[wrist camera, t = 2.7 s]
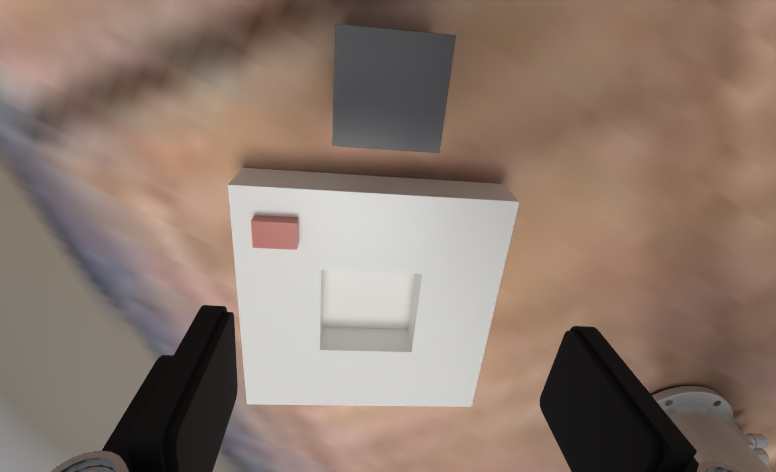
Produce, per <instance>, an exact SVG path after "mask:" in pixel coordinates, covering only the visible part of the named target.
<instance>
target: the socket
mask: <svg viewBox="0 0 776 472" xmlns="http://www.w3.org/2000/svg"><path fill="white" fill-rule="evenodd" d="M228 192H229V203H230V215H231V226H232V238H233V249H234V261H235V272H236V284H237V295H238V307H239V318H240V330H241V342H242V353H243V365H244V376H245V388H246V399H247V404H274V405H364V406H455V407H472V402H473V398H474V394H475V390H476V385H477V381H478V377H479V372H480V368H481V364H482V360H483V355H484V351H485V347H486V343H487V338H488V334H489V330H490V325H491V321H492V317H493V313H494V308H495V304H496V300H497V296H498V291H499V287H500V283H501V278H502V274H503V270H504V266H505V261H506V257H507V253H508V248H509V244H510V240H511V236H512V231H513V227H514V223H515V219H516V214H517V210H518V206H519V201H518V200H517V199H516V198H515V197H514V196H513V195H512V194H511V193H510V192H509V191H508V190H507V188H506V187H505V186H504V185H503V184H498V183H481V182H465V181H449V180H433V179H417V178H401V177H385V176H368V175H352V174H336V173H320V172H304V171H288V170H272V169H255V168H243V169H242V170H241V171H240V172H239V173H238V174H237V175H236V176H235V178H234V179H233V180H232V181H231V182H230V183H229V184H228Z"/></svg>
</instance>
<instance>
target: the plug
mask: <svg viewBox="0 0 776 472" xmlns="http://www.w3.org/2000/svg"><path fill="white" fill-rule="evenodd" d="M455 37H456V35H448V34H437V33H427V32H416V31H406V30H395V29H385V28H374V27H364V26H353V25H343V24H335V61H334V100H333V139H332V146H342V147H357V148H371V149H386V150H401V151H415V152H430V153H439V152H440V145H441V138H442V131H443V123H444V116H445V109H446V102H447V95H448V87H449V80H450V73H451V66H452V58H453V51H454V44H455Z"/></svg>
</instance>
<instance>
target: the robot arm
mask: <svg viewBox="0 0 776 472" xmlns="http://www.w3.org/2000/svg"><path fill="white" fill-rule="evenodd" d="M236 396H237V368H236V348H235V327H234V314H233V312H227V309H226V307H225V306H209V305H203V306H202V307H201V308H200V310H199V312H198V313H197V315H196V317H195V319H194V320H193V322H192V324H191V326H190V327H189V329H188V331H187V333H186V335H185V336H184V338H183V340H182V342H181V343H180V345H179V347H178V349H177V351H176V352H175V354H174V356H171V355H162V356H161V357H159V358H158V360H157V361H156V362H155V364H154V366H153V367H152V369H151V371H150V372H149V374H148V375H147V377H146V379H145V381H144V382H143V384H142V385H141V387H140V389H139V390H138V392H137V394H136V395H135V397H134V398H133V400H132V402H131V404H130V405H129V407H128V408H127V410H126V412H125V414H124V415H123V417H122V418H121V420H120V422H119V423H118V425H117V427H116V428H115V430H114V432H113V433H112V435H111V436H110V438H109V440H108V441H107V443H106V445H105V446H104V448H103V450H102V451H94V452H88V453H84V454H81V455H79V456H76V457H73V458H71V459H69V460H67V461H66V462H64V463H62V464H60V465H59V466H57V467H56V468H55V469H53V470H52V471H51V472H212V471H213V468H214V465H215V462H216V459H217V456H218V453H219V450H220V447H221V443H222V440H223V437H224V434H225V431H226V428H227V425H228V422H229V419H230V416H231V413H232V410H233V407H234V404H235V400H236ZM540 407H541V411H542V413H543V415H544V417H545V419H546V421H547V423H548V425H549V427H550V429H551V431H552V433H553V435H554V437H555V439H556V441H557V443H558V445H559V447H560V449H561V451H562V453H563V455H564V457H565V459H566V461H567V463H568V465H569V467H570V469H571V471H572V472H773V471H772V470H771V469H770V468H769V467H768V466H767V465H768V464H769V457H768V454H767V453H766V452H765V450H763V449H762V448H765V447H767V445H768V442H767V439H766V438H765V436H763V435H762V434H744V433H743V432H742V431H741V430H740V429H739V428H738V427H737V426H736V425H735V424H734V423H733V410H732V408H731V406H730V404H729V403H728V402H727V401H726V400H725V399H724V398H723V397H722V396H721V395H720V394H718V393H717V392H716V391H714V390H711V389H709V388H705V387H700V386H682V387H675V388H671V389H667V390H664V391H661V392H659V393H656V394H654V395H652V396H651V394H650V393H649V392H648V391H647V389H646V388H645V387H644V386H643V385H642V383H641V382H640V381H639V380H638V378H637V377H636V376H635V375H634V374H633V372H632V371H631V370H630V369H629V367H628V366H627V365H626V364H625V363H624V361H623V360H622V359H621V358H620V356H619V355H618V354H617V353H616V352H615V350H614V349H613V348H612V347H611V345H610V344H609V343H608V342H607V341H606V339H605V338H604V337H603V336H602V334H601V333H600V332H599V331H598V330H597V329H596V328H594V327H583V326H574V327H572V328H571V329H570V331H567V332H566V333H565V335H564V337H563V340H562V342H561V345H560V347H559V350H558V353H557V355H556V358H555V360H554V363H553V366H552V368H551V371H550V373H549V376H548V379H547V381H546V384H545V386H544V389H543V391H542V394H541V397H540Z"/></svg>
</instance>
